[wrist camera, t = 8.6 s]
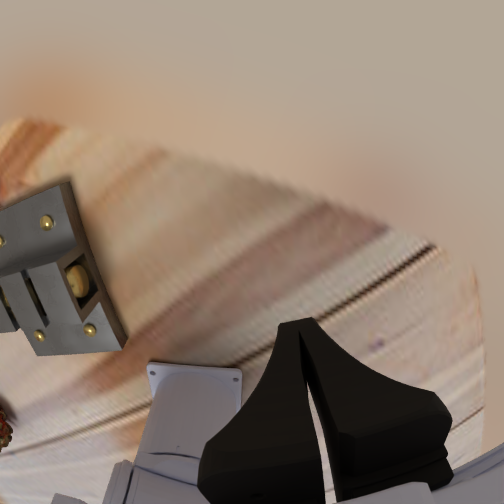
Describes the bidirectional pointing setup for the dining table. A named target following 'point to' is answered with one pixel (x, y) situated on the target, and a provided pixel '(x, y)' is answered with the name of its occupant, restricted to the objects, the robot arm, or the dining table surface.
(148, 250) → the dining table surface
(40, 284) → the hinge leaves
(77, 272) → the pin
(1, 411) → the dragon fruit
